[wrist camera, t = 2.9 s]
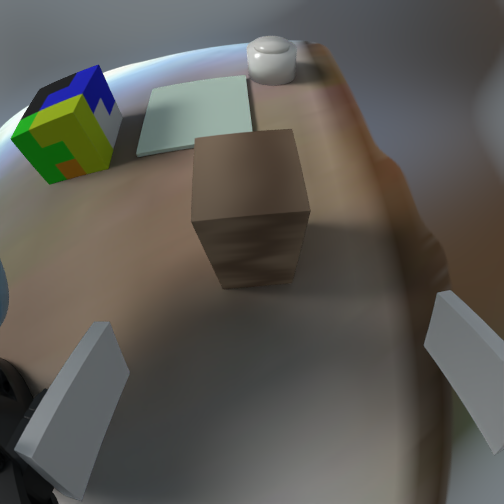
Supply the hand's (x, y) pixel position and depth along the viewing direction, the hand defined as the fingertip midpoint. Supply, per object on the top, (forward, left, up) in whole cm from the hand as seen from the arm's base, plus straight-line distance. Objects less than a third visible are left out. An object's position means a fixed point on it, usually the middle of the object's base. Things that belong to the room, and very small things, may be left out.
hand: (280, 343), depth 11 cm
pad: (-7, +30, -14) cm, 34 cm away
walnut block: (-1, +9, -14) cm, 17 cm away
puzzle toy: (-23, +27, -14) cm, 38 cm away
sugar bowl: (+4, +38, -14) cm, 41 cm away
